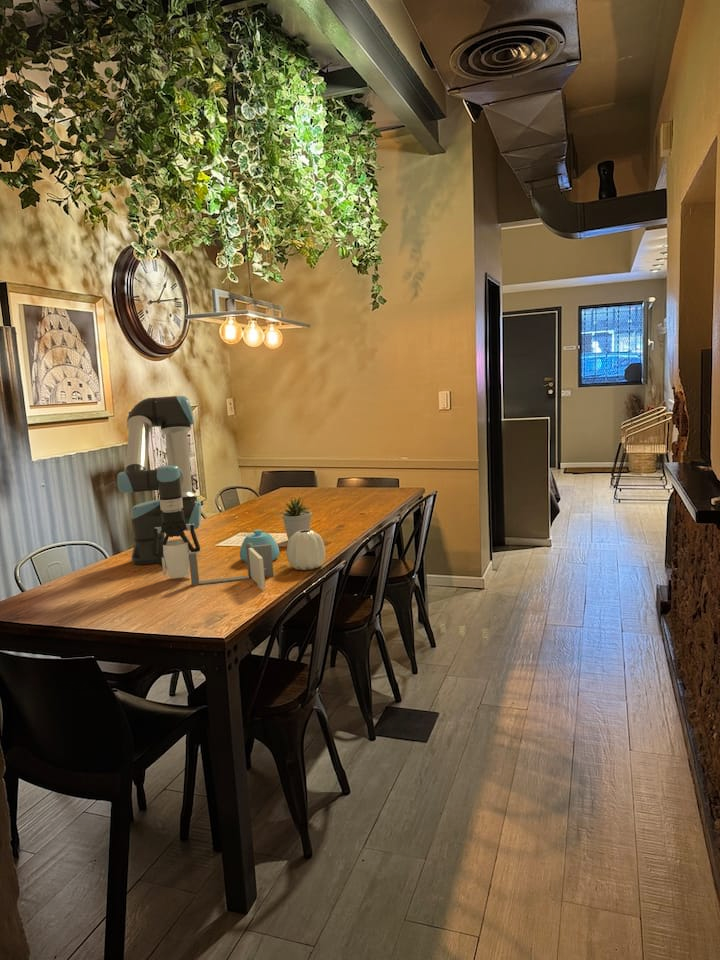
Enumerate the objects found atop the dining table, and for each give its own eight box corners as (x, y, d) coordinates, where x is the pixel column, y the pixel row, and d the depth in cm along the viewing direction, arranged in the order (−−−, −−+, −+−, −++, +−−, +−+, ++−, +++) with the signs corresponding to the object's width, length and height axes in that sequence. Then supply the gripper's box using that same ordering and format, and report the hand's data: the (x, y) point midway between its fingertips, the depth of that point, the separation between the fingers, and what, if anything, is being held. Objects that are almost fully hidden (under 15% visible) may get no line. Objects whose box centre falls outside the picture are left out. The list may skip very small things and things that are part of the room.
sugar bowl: (287, 556, 249) (285, 527, 247) (261, 566, 236) (258, 536, 235) (259, 553, 257) (256, 524, 255) (232, 562, 245) (229, 532, 243)
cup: (171, 581, 221) (168, 547, 219) (161, 575, 228) (157, 542, 226) (196, 574, 226) (193, 541, 224) (185, 569, 233) (182, 537, 231)
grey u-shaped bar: (192, 583, 220) (188, 549, 219) (273, 574, 225) (270, 540, 224) (191, 585, 217) (188, 551, 216) (273, 576, 223) (270, 542, 221)
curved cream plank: (250, 576, 221) (248, 548, 219) (257, 575, 222) (255, 547, 220) (261, 588, 206) (259, 558, 205) (269, 587, 207) (266, 557, 206)
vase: (280, 568, 232) (277, 532, 230) (312, 560, 241) (309, 525, 239) (302, 575, 222) (299, 537, 220) (334, 566, 230) (331, 529, 228)
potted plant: (275, 541, 274) (272, 495, 272) (301, 535, 283) (298, 490, 281) (293, 545, 265) (289, 498, 262) (319, 539, 274) (316, 492, 271)
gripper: (138, 515, 218) (145, 579, 221) (203, 509, 222) (209, 572, 225) (141, 511, 225) (148, 573, 229) (204, 505, 229) (210, 566, 233)
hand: (178, 572), depth 227 cm, fingers closed on cup, 9 cm apart
